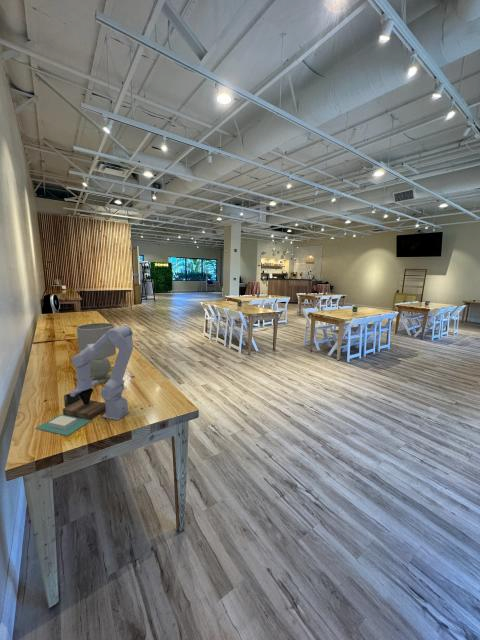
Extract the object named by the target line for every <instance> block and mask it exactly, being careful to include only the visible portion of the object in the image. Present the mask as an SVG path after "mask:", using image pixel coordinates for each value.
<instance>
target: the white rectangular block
mask: <svg viewBox="0 0 480 640" xmlns="http://www.w3.org/2000/svg"><path fill="white" fill-rule="evenodd" d="M58 416H59V415H58ZM66 416H67V415H66ZM66 416H59V417H58V418H56V419H54V420H52V421H50V420H49V421H50V422H49V427H53V428H58V429H62V430H66V429H68V428H69V427H71V426H73V425H74V424H76V423H77V419H76V418H77V417H76V418H71V417H72V416H71V417H66Z"/></svg>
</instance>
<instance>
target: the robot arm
mask: <svg viewBox="0 0 480 640" xmlns="http://www.w3.org/2000/svg"><path fill="white" fill-rule="evenodd" d="M133 335H134V331H133V330H132V327H130V326H129V325H127V324H123V325H121V326H120V325H119V326H116V327H114V328H112V329H110V330H109V331H107V332H106V333H105V334H104V335H103V336H102V337H101V338H100V339H99V340H98V341H97V342H96V343H95V344H88V345H87V346H86V348H85V349H84V350H82V351H80V354H79V353H78V354H75V355H73V357H72V358H71V363H72V365H73V366H74V367H75V372H76V383H77V385H76V387H75V388H74V389H73V390H71V391H70V392H69V394H70V396H73V397H74V396H75V395H76V394H78V395H79V396H80V397H81V399H82V401H83V404H85V405H87V404H89V401H90V400H91V397H92V393H93V392H94V388H92V387H94V386H98V385H99V384H98V381H96V380H95V381H92V382H91V377H92V375H90V366H91V365H90V363H91V361H92V359H93V358H94V357H95V356H96V355H98V354H99V353H100V348H102V347H103V346H104V345H106V344H107V343H108V342H110V341H111V342H112V343H113V344H114V345H115V346H116V349H118V352H117V356H116V358H115V361H114V364H113V367H112V371H111V373H110V379H109V380H108V381H107V382H106V383H104V386H103V388H101V390H100V393H99V394H100V397H101V399H103V401H104V403H105V408H106V410H105V413H104V414H103V415H101V418H105V419H110V420H115V421H119V420H120V419H122V418H124V416H126V415H128V414H129V413H130V410H129V406H128V400H127V398H125V397H123V396H122V395H123V391H124V389H125V380H124V375H125V373H126V370H127V367H128V363H129V362H130V359H131V357H132V356H131V355H132V352H133V349H134V343H133Z"/></svg>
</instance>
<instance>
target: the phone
mask: <svg viewBox="0 0 480 640" xmlns="http://www.w3.org/2000/svg"><path fill="white" fill-rule="evenodd" d="M63 397H64V408H66V407H68V406H69V405H71V404H73V403H75V402H77V401H79V400H81V397H80V396H79V395H78V394H76V395H75V396H74V397H73V396H70V393H66V394H64V395H63Z"/></svg>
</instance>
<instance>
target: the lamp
mask: <svg viewBox="0 0 480 640" xmlns="http://www.w3.org/2000/svg"><path fill="white" fill-rule="evenodd" d="M112 328H115V324H114V323H109V322H95V323H94V322H93V323H87V324H82V325H79V326H77V327H76V336H77V343H78V354H80V351H82V350H84V349H85V348H86V346H87V345H88V344H95V343H96V342H97V341H98V340H99V339H100V338H101V337H102V336H103V335H104V334H105V333H106V332H107V331H109V330H110V329H112ZM116 353H117V347H116V346H115V345H114V344H113V343H112V342H111V341H110V342H108V343H107V344H106V345H104V346H103V347H102V348H100V353H99V354H98V355H96V356H95V357H94V358H93V359H92V361H91V363H90V365H91V366H90V375H91V382H92V381H95V380H96V381H98V385H101V384H106V383H107V381H108V380H109V379H110V376H111V374H110V371H111V369H112V363H111V361H110V360H109V359H108V358H109V357H110V358H111V357H112V356H114V355H116Z"/></svg>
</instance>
